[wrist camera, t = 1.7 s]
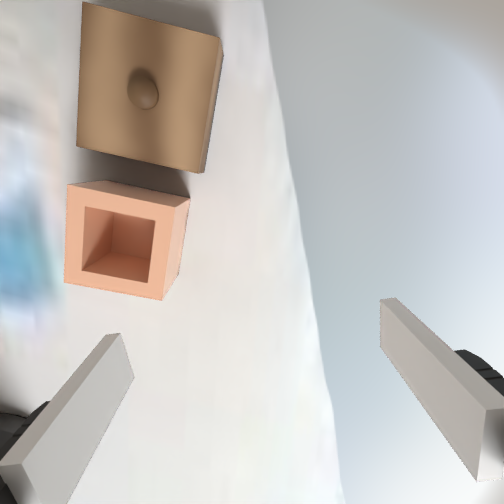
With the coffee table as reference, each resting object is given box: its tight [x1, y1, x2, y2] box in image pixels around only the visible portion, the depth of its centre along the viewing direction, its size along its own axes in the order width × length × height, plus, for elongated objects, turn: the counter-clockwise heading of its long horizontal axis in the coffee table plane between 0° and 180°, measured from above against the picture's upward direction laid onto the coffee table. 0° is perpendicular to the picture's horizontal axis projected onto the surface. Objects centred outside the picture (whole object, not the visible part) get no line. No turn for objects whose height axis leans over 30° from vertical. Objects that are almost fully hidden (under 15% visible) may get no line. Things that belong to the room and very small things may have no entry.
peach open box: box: [64, 180, 190, 301], centre depth 29 cm, size 9×9×7 cm
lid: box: [76, 1, 223, 174], centre depth 26 cm, size 11×11×4 cm
